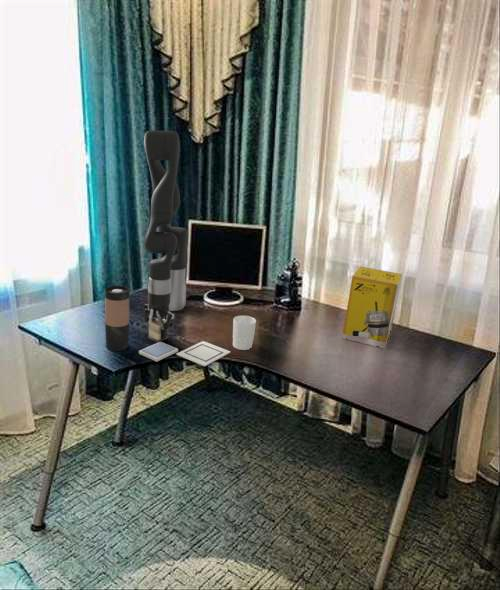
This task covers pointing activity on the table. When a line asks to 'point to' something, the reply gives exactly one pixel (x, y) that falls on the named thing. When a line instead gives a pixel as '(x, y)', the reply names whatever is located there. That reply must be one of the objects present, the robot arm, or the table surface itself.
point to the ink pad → (158, 351)
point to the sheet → (203, 353)
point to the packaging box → (372, 303)
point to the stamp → (155, 331)
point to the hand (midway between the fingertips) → (157, 336)
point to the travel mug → (117, 317)
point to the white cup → (243, 332)
